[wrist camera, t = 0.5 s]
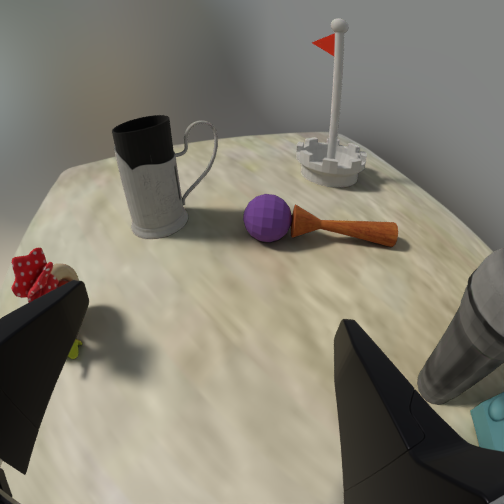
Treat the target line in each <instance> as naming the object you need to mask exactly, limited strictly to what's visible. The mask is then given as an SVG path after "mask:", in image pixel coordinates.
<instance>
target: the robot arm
mask: <svg viewBox="0 0 504 504" xmlns="http://www.w3.org/2000/svg"><path fill="white" fill-rule="evenodd" d="M88 305H89V298H88V294H87V291H86V287H85V284H84V283H83V282H82V281H78V280H72V281H70V282H68V283H66V284H64V285H62V286H60V287H58V288H56V289H54V290H52V291H50V292H48V293H46V294H45V295H43V296H41V297H39V298H37V299H35V300H33V301H31V302H29V303H28V304H26V305H24V306H22V307H20V308H18V309H17V310H15V311H13V312H11V313H9V314H7V315H6V316H4V317H2V318H1V319H0V467H1V464H2V462H3V461H4V462H6V463H7V464H9V465H10V466H12V467H13V468H15V469H16V470H18V471H19V472H21V473H23V474H24V475H25V474H26V472H27V469H28V465H29V461H30V458H31V454H32V451H33V447H34V444H35V441H36V438H37V434H38V431H39V430H38V429H39V428H40V425H41V422H42V419H43V416H44V414H45V411H46V408H47V405H48V403H49V400H50V397H51V395H52V392H53V390H54V387H55V385H56V382H57V380H58V378H59V375H60V373H61V371H62V368H63V366H64V364H65V361H66V359H67V357H68V355H69V352H70V350H71V348H72V346H73V344H74V342H75V339H76V337H77V334H78V332H79V329H80V326H81V323H82V321H83V318H84V315H85V313H86V310H87V308H88ZM334 382H335V392H336V401H337V410H338V420H339V431H340V442H341V455H342V469H343V487H344V504H504V452H503V451H497V450H492V449H487V448H482V447H477V446H474V445H472V444H470V443H468V442H466V441H465V440H464V439H463V438H462V437H460V436H459V435H458V434H457V433H456V432H455V431H454V430H453V429H452V428H451V427H450V426H449V425H448V424H447V423H446V422H445V421H444V420H443V419H442V418H441V417H440V416H439V415H438V414H437V413H436V412H435V411H434V410H433V409H432V408H431V407H430V406H429V404H428V403H427V402H426V401H425V400H424V399H423V398H422V397H421V395H420V394H419V393H418V392H417V391H416V390H414V387H413V386H412V385H411V384H410V383H409V381H408V380H407V379H406V378H405V377H404V376H403V374H402V373H401V372H400V371H399V370H398V369H397V367H396V366H395V365H394V364H393V363H392V362H391V361H390V359H389V358H388V357H387V356H386V355H385V354H384V353H383V351H382V350H381V349H380V348H379V347H378V346H377V345H376V344H375V342H374V341H373V340H372V339H371V338H370V337H369V336H368V335H367V333H366V332H365V331H364V330H363V329H362V328H361V327H360V326H359V324H358V323H357V322H356V321H355V320H351V319H343V320H342V321H341V322H340V325H339V327H338V330H337V332H336V335H335V338H334ZM0 504H20V503H19V502H17V501H16V500H15V499H13V498H12V494H11V491H10V488H9V485H8V483H7V480H6V477H5V473H4V470H3V469H1V468H0Z"/></svg>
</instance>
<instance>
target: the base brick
mask: <svg viewBox="0 0 504 504" xmlns="http://www.w3.org/2000/svg"><path fill="white" fill-rule="evenodd" d="M470 412H471V416H472V419H473V423H474V426H475V430H476V434H477V438H478V443H479V447H482V448H487V449H492V450H497V451H503V452H504V392H503V393H501V394H499V395H497V396H495V397H493V398H491V399H488V400H486V401H484V402H482V403H481V404H479V405H478V406H476V407H475V408H474V409H472V410H471V411H470Z"/></svg>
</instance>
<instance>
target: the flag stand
mask: <svg viewBox="0 0 504 504" xmlns="http://www.w3.org/2000/svg"><path fill="white" fill-rule="evenodd" d="M331 28H332V30H333V31H334V32H335V34H332V35H329V36H327V37H325V38H322V39H320V40H317V41H315V42H312V43H313V44H314V45H316V46H318V47H320V48H321V49H323V50H325V51H326V52H328V53H329V54H331V55H333V56H334V75H333V94H332V107H331V121H330V132H329V138H327V143H318V139H317V138H307V139H305V144H304V143H303V142H298V143H297V154H296V158H297V160H298V161H299V162H300V163H301V174H302V175H303V177H304V178H306V179H307V180H309V181H311V182H313V183H316V184H319V185H323V186H327V187H347V186H351V185H353V184H355V183H356V181H357V177H358V173H359V172H361V171H362V170H363V169H364V168H365V163H366V157H367V154H366V152H362V151H360V147H359V146H357V145H355V144H352V143H349V144H348V147H346V146H342V145H339V139H337V136H338V126H339V115H340V103H341V89H342V74H343V54H344V52H343V51H344V33H346V32H347V31H348V24H347V22H346V21H345V20H343V19H335V20H333V21H332V23H331ZM359 151H360V153H359Z"/></svg>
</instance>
